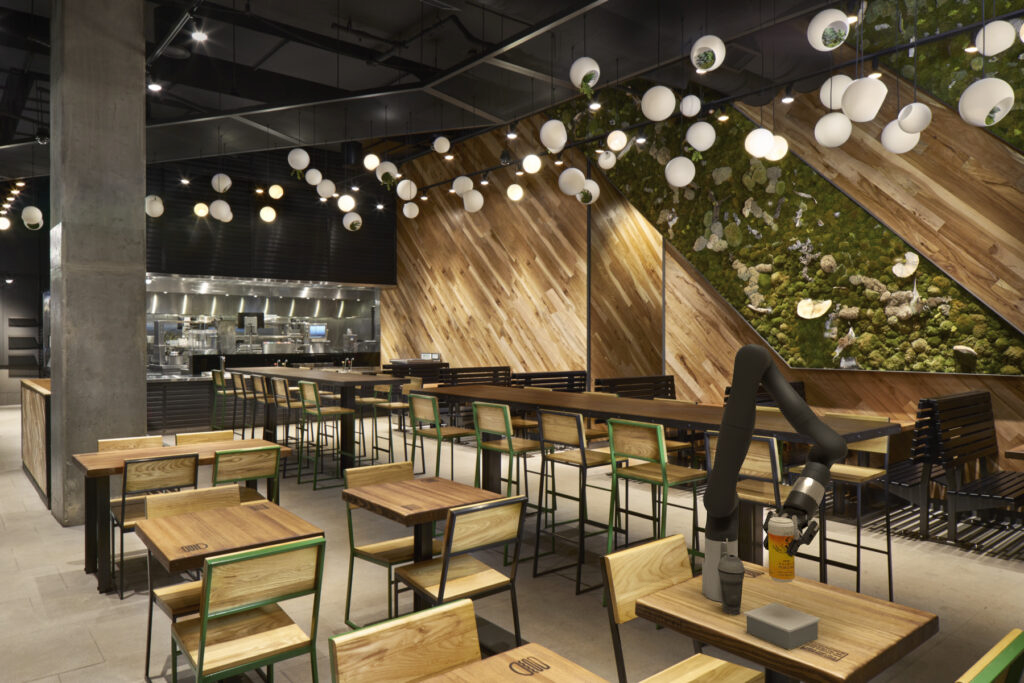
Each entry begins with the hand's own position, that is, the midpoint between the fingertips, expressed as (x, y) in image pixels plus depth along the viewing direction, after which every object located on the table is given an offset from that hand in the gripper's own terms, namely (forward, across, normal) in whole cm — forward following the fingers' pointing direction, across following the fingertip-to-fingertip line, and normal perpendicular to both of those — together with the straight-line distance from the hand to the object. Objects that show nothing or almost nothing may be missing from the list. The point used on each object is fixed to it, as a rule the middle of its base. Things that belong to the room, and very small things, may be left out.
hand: (777, 551), depth 166 cm
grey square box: (+14, 0, +16) cm, 22 cm away
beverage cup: (+13, -17, +18) cm, 28 cm away
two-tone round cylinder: (+4, 0, +6) cm, 8 cm away
